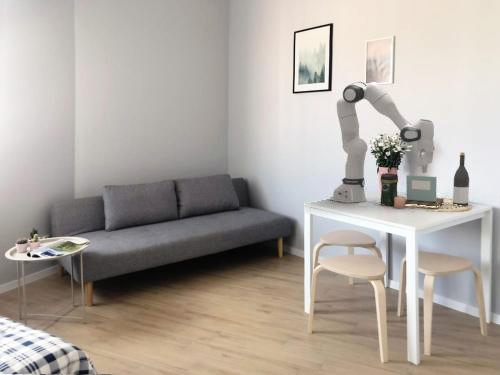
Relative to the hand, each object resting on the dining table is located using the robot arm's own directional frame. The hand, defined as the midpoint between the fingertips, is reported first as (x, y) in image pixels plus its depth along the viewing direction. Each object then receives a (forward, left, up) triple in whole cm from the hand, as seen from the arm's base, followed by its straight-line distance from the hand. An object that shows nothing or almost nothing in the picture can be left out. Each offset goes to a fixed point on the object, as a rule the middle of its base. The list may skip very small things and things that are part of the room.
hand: (424, 172), depth 265 cm
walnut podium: (0, +1, -19) cm, 19 cm away
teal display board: (0, -6, -8) cm, 10 cm away
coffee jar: (-18, -6, -19) cm, 27 cm away
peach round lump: (-10, -12, -19) cm, 25 cm away
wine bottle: (+18, +10, -19) cm, 28 cm away
